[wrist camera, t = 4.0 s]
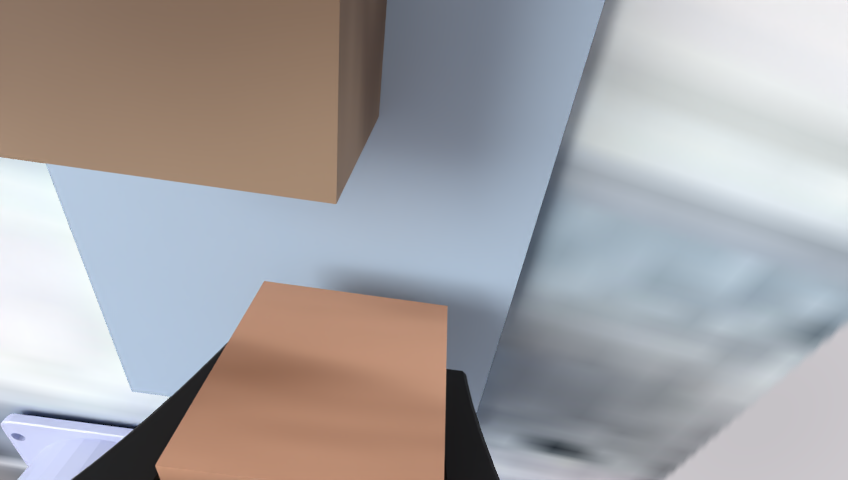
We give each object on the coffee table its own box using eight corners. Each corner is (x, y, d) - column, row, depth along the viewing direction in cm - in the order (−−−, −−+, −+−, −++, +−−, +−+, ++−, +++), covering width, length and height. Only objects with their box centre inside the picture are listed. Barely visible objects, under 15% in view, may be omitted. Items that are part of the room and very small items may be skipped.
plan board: (468, 421, 16) (469, 436, 16) (142, 377, 16) (131, 391, 15) (697, -341, 6) (720, -368, 6) (-157, -480, 6) (-212, -520, 6)
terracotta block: (424, 417, 13) (411, 609, 9) (275, 398, 13) (200, 583, 9) (447, 305, 10) (443, 501, 7) (264, 280, 10) (154, 465, 7)
